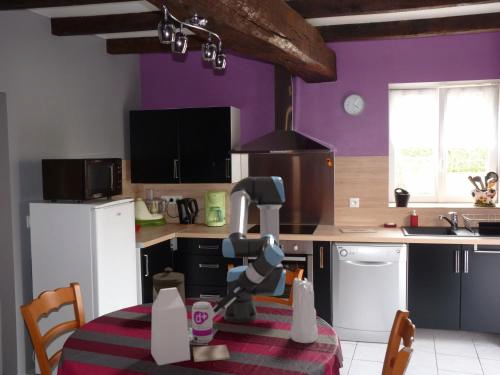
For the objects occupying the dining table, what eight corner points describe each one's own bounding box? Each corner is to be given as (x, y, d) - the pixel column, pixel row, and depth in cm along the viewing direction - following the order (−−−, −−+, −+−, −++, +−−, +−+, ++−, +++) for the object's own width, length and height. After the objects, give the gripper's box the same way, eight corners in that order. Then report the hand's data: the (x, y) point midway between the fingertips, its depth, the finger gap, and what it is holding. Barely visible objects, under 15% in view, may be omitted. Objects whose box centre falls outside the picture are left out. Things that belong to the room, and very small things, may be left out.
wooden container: (159, 308, 256) (158, 263, 254) (188, 309, 254) (187, 264, 252) (149, 318, 241) (147, 271, 239) (180, 319, 239) (179, 271, 237)
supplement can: (209, 344, 208) (209, 307, 207) (189, 343, 210) (189, 306, 209) (215, 337, 216) (214, 301, 215) (196, 335, 218) (195, 300, 217)
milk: (158, 365, 189) (156, 294, 187) (151, 353, 200) (149, 287, 198) (190, 359, 194) (188, 290, 192) (181, 348, 204) (179, 283, 202)
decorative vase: (320, 334, 217) (319, 275, 215) (314, 344, 207) (314, 282, 205) (294, 332, 220) (294, 273, 218) (288, 341, 210) (287, 280, 208)
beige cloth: (226, 346, 206) (226, 344, 205) (229, 359, 194) (229, 356, 194) (192, 349, 203) (192, 347, 203) (194, 361, 192) (194, 359, 192)
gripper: (256, 262, 215) (223, 295, 222) (233, 277, 192) (197, 313, 198) (268, 276, 214) (235, 308, 220) (247, 292, 191) (210, 328, 197)
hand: (217, 310), depth 209 cm, fingers open, 13 cm apart
